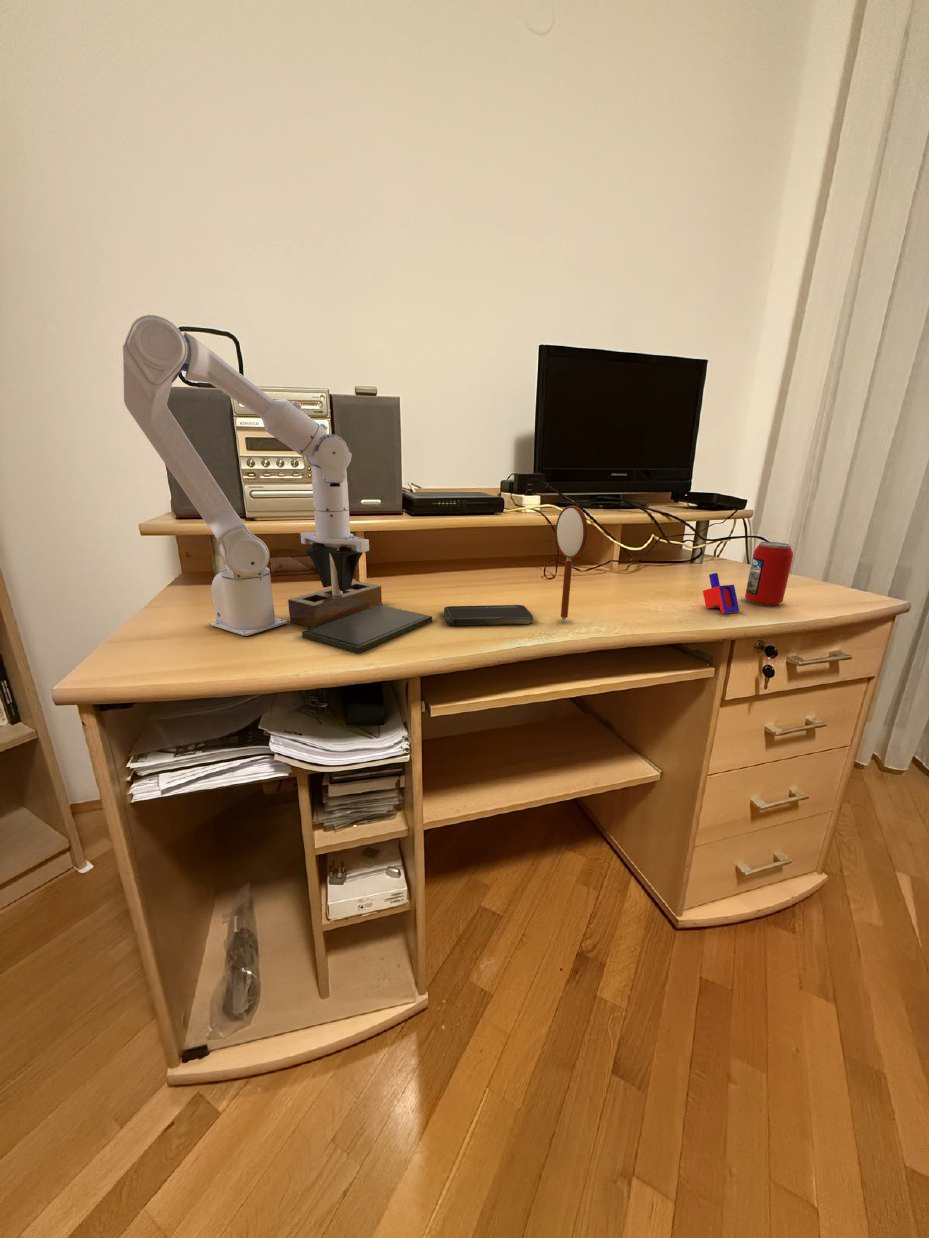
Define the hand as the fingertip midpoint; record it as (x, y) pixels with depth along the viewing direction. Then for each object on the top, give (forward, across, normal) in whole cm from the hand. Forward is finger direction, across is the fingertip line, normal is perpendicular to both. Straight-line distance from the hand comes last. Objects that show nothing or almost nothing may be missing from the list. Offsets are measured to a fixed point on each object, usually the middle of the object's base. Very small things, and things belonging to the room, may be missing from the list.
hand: (336, 588), depth 87 cm
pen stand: (+5, 0, 0) cm, 5 cm away
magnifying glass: (+5, -36, -19) cm, 41 cm away
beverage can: (+5, -64, -55) cm, 85 cm away
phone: (+5, -24, -13) cm, 27 cm away
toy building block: (+5, -58, -44) cm, 73 cm away
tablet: (+5, -10, +3) cm, 12 cm away
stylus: (+5, 0, 0) cm, 5 cm away
